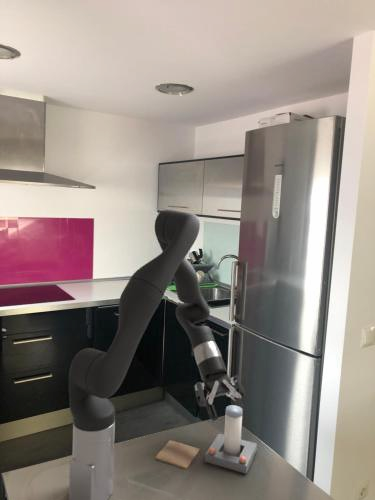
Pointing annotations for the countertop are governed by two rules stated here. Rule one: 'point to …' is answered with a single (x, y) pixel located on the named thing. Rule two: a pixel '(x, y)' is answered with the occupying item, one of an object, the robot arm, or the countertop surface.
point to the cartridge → (233, 430)
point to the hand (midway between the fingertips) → (228, 417)
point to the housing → (230, 461)
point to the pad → (177, 454)
